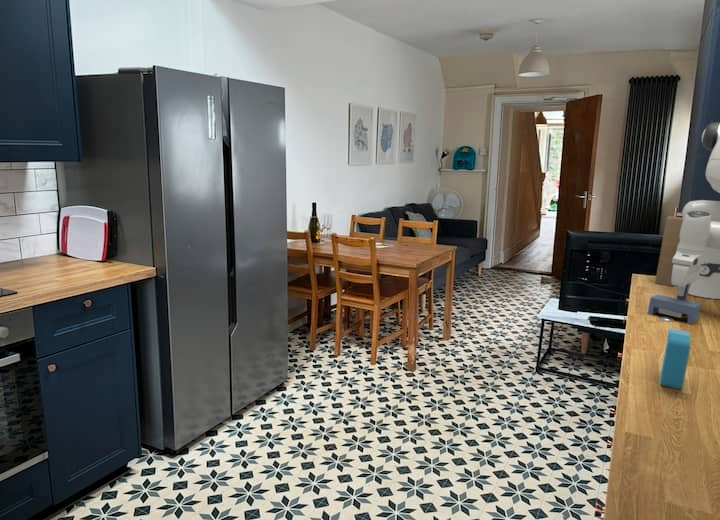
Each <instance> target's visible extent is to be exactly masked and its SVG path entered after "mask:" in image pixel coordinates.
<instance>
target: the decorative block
mask: <svg viewBox="0 0 720 520" xmlns="http://www.w3.org/2000/svg"><path fill="white" fill-rule="evenodd" d="M682 223H683V217H682V216H672V215H668V216H667V217H666V219H665V226H664V231H663V236H662V242H661V248H660V253H659V259H658V263H657V264H658V265H657V269H656V276H655V280H654V284H656V283H657V285H661V284H662V285H663V286H667V285H669V286H668V287H675V285H672V282H671V278H672V269H673V265H674V263H672V260H673V257H674V256H675V254H676V251H677V246H678V244H679V242H680V230H681V226H682ZM662 285H661V286H662Z"/></svg>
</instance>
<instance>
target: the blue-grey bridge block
mask: <svg viewBox="0 0 720 520" xmlns="http://www.w3.org/2000/svg"><path fill="white" fill-rule="evenodd" d="M701 307H702V303H698V302H695V301H689V300H686V301H685V300H680V299H677V297H670V296H666V295H661V294H655V295H653V296H651V297H650V298H649V305H648V310H647V314H648V315H652V316H653V315H654V314H656V313H658V312H659V308H661V309H665V310H670V311H675V312H679V313H683V314H688V316H687V323H686V324H688V323H689V325H694V324H695V323H697V322H698V321H699V318H700V313H701Z"/></svg>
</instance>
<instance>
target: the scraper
mask: <svg viewBox="0 0 720 520" xmlns="http://www.w3.org/2000/svg"><path fill="white" fill-rule="evenodd" d="M689 287H690V283H689V284H687V285H686V287H685V295H684V296H679V295H678V294H677V297H676V299H680V300H685V301H688V300H687V299H688V295H689V294H688V291H689ZM657 313H658V314H662V315H667V316H671V317H676V318H679V319H682V317H683V316H687V317H688V316H689V315H688V314H683V313H679V312H675V311H670V310H666V309H662V308H659V312H657Z"/></svg>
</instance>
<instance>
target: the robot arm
mask: <svg viewBox="0 0 720 520" xmlns="http://www.w3.org/2000/svg"><path fill="white" fill-rule="evenodd" d="M701 145H702V147H703V148H704V149H705V150H708V151H711V153H710V155H709V157H708V158H709V159H708V162H707V165H706V169H705V179H706V180H707V182H708V183H709V184H710V186H711V188H712V189H713V190H714V191H715V192H717V193H719V194H720V122H711V123H710V124H708V125H706V128H705V129H704V130H703V133H702V135H701ZM681 217H683V223H682V226H681V230H680V242H679V244H678V246H677V251H676V254H675V256H674V257H673V260H672V263H674V265H673V269H672V278H671V282H672V285H674V286H677V290H678V291H677V296H678V295H679V296H684V295H685V287H686V285H687V284H689V283H690V287H689V291H688V295H691V296H696V297H700V298H707V299H713V300H714V299H717V300H718V299H719V300H720V201H719V200H708V199H707V200H705V199H699V200H691V201H689V202H687V203H686V204H685V205H684V207H683V209H682V212H681Z"/></svg>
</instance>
